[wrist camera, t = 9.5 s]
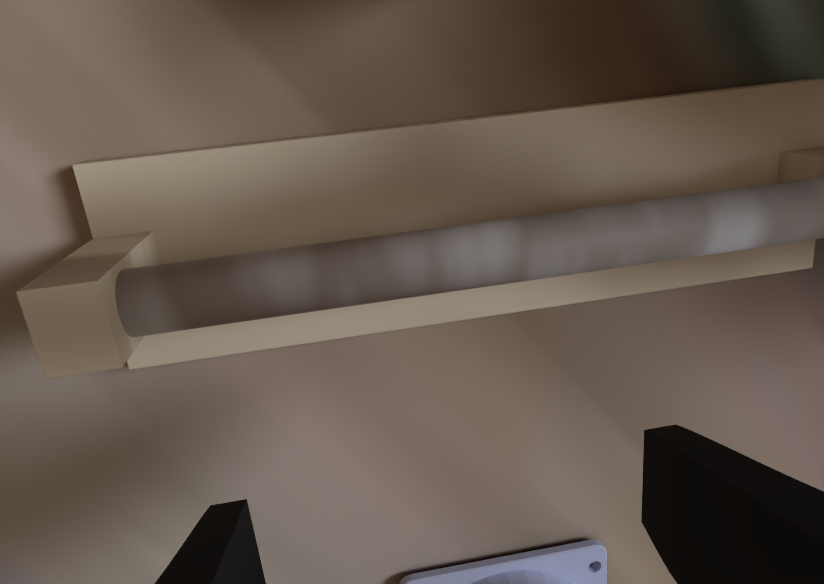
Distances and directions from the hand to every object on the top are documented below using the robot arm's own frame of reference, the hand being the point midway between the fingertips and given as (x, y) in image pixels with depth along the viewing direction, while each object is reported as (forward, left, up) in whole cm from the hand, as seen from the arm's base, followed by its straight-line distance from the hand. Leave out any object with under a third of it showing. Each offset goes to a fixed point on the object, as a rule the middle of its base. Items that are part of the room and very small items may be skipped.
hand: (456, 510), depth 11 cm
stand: (+3, -3, -9) cm, 10 cm away
